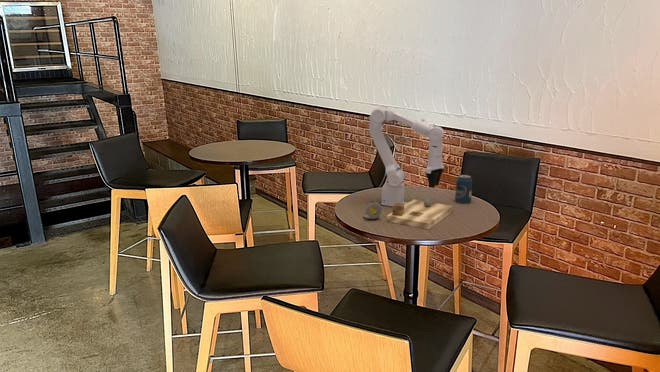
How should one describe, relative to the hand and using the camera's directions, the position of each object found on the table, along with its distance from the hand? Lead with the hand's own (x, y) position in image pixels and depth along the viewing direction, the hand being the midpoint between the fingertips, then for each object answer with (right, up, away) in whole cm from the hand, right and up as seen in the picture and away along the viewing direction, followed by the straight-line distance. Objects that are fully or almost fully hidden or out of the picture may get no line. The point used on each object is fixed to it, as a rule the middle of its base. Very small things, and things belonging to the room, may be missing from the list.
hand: (433, 186), depth 217 cm
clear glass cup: (-28, -13, -10) cm, 32 cm away
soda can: (+16, -7, +11) cm, 21 cm away
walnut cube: (-17, -11, -12) cm, 24 cm away
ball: (-3, -7, -3) cm, 8 cm away
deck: (-7, -12, -8) cm, 16 cm away
